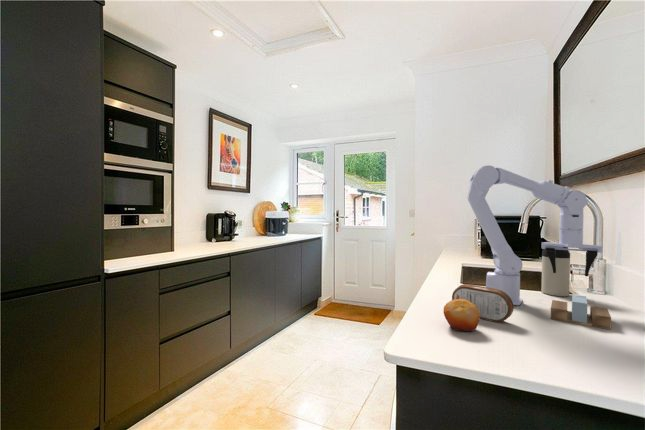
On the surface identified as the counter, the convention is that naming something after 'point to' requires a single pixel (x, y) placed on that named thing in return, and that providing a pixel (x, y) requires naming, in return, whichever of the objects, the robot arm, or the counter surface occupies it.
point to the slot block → (595, 318)
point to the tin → (486, 301)
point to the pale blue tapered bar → (579, 308)
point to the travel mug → (559, 280)
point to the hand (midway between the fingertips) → (570, 274)
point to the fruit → (462, 315)
